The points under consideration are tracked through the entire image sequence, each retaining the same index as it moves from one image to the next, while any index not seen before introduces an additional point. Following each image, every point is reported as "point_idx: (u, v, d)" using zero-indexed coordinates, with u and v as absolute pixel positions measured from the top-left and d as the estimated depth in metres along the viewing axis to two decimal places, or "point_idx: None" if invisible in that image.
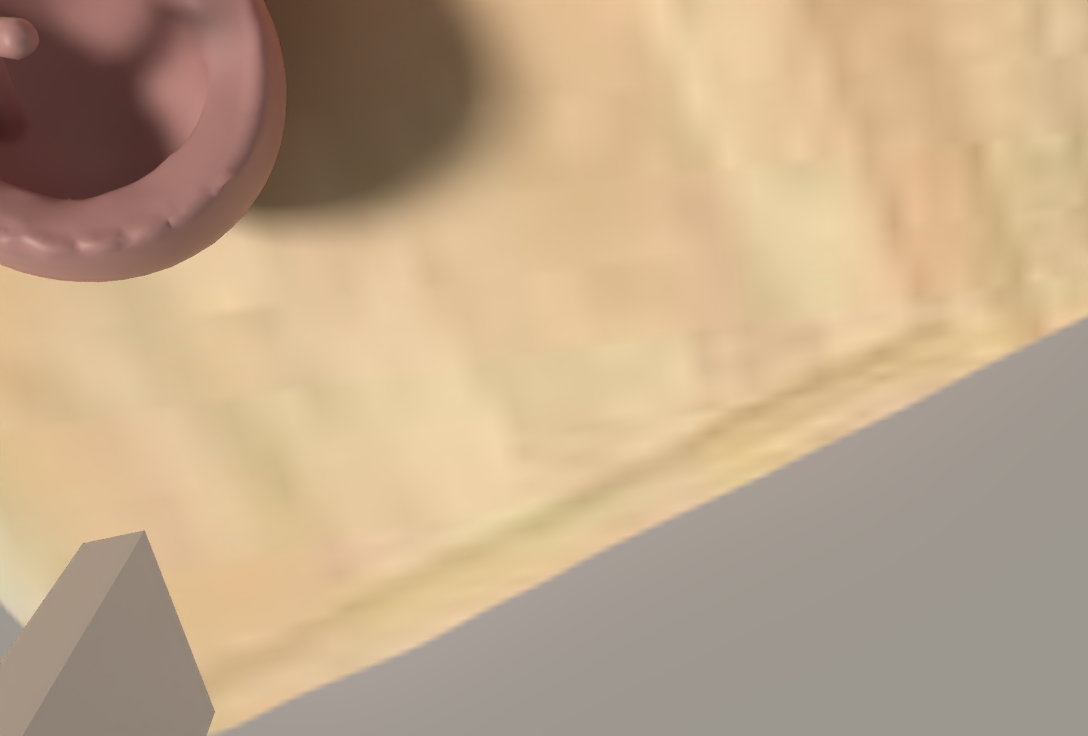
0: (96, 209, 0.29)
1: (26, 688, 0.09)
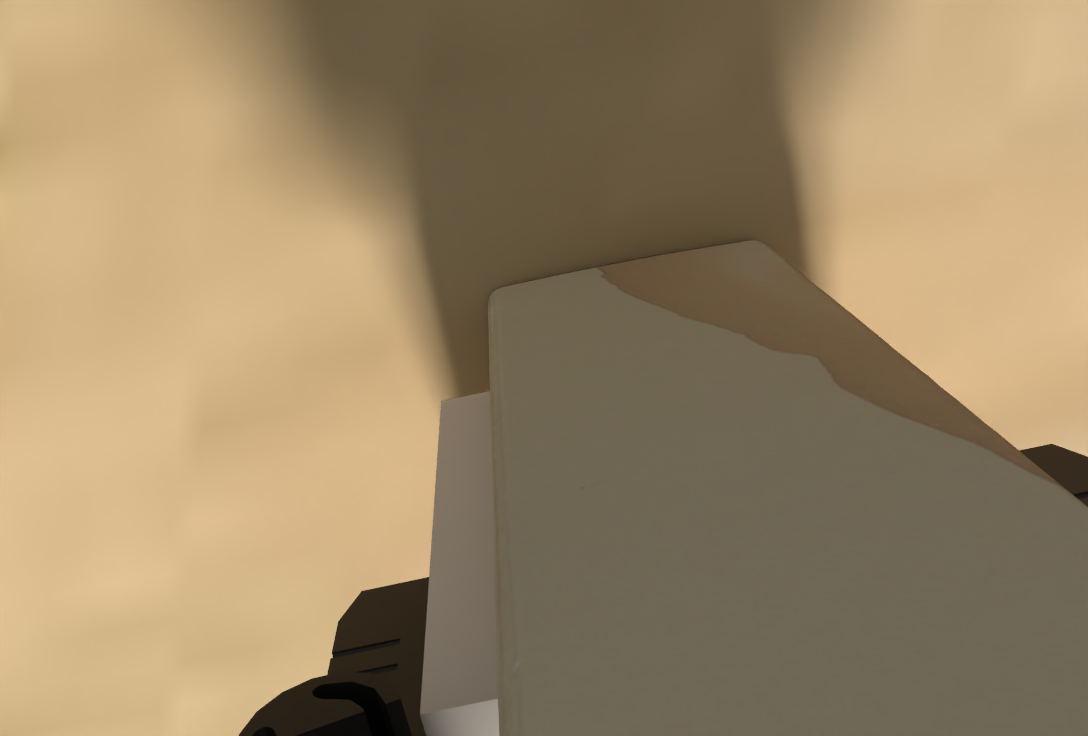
0: None
1: (477, 488, 0.11)
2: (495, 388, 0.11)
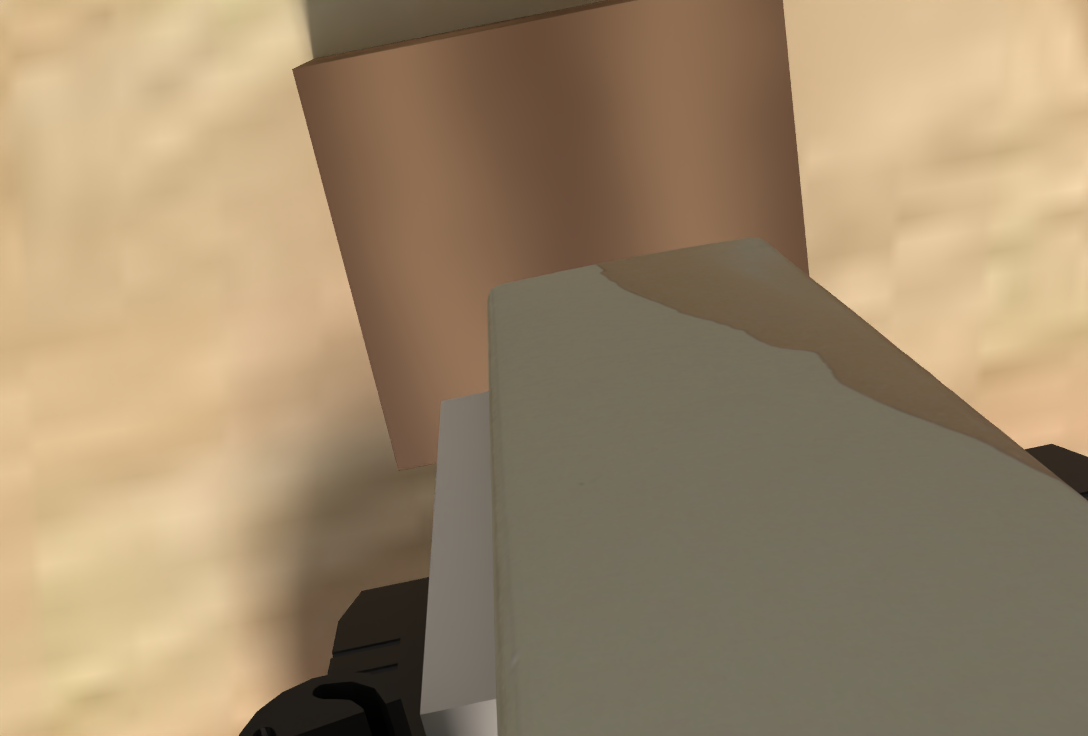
0: None
1: (477, 488, 0.11)
2: (494, 385, 0.11)
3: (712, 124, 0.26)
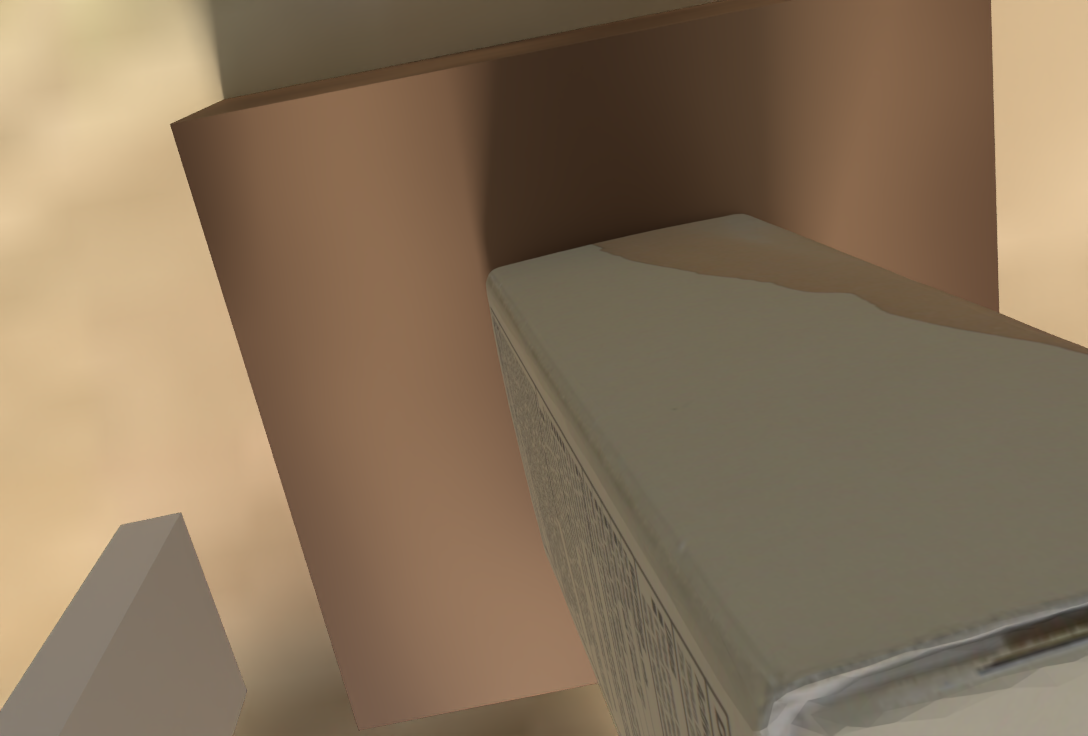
0: None
1: (76, 661, 0.10)
2: (535, 345, 0.11)
3: (863, 211, 0.16)
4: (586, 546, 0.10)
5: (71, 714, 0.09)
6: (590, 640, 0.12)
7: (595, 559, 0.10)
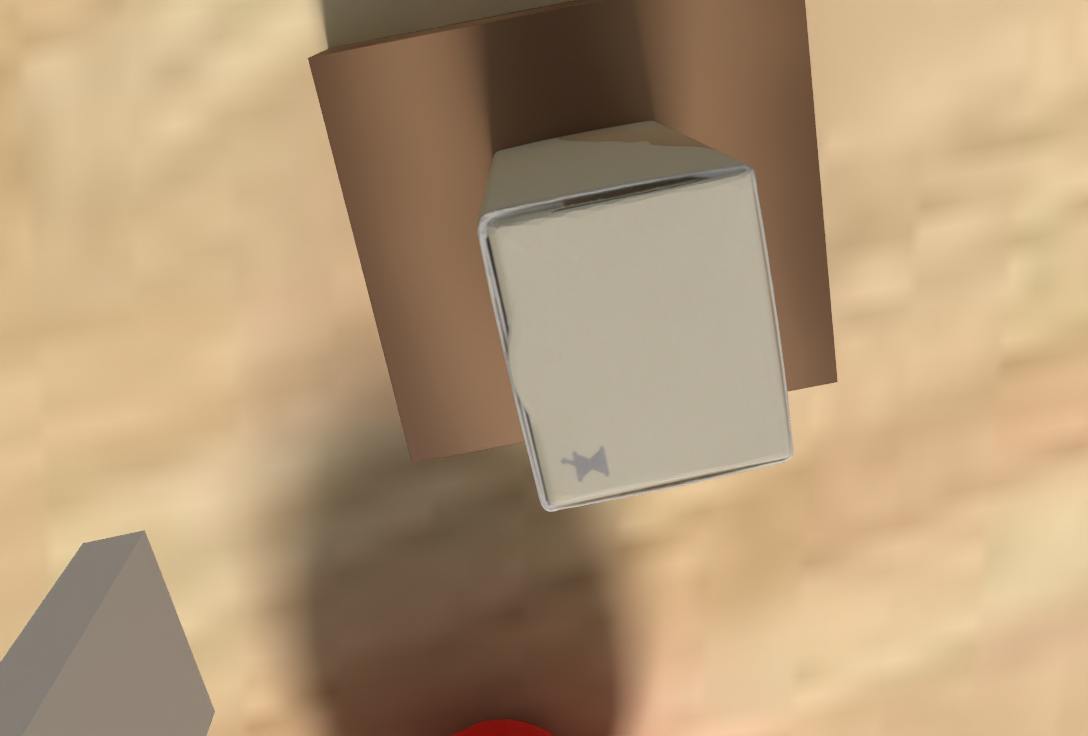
0: None
1: (26, 688, 0.09)
2: (491, 171, 0.22)
3: (731, 115, 0.26)
4: None
5: None
6: None
7: None
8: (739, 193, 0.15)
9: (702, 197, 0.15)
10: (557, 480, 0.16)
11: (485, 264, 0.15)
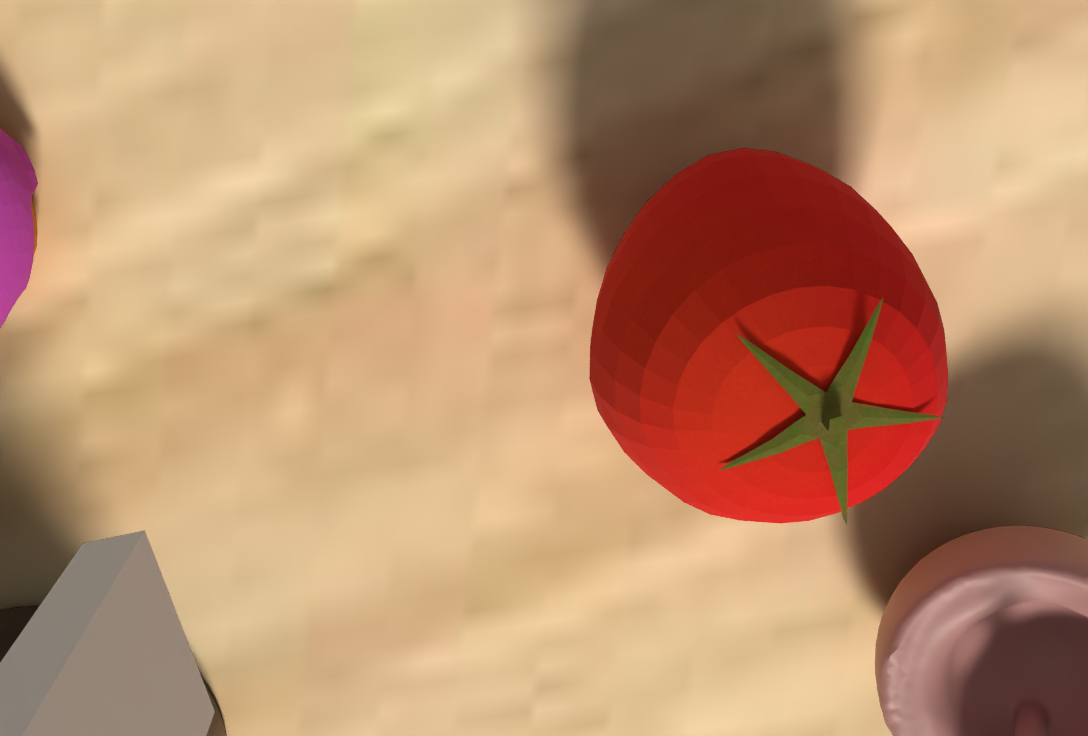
0: None
1: (26, 688, 0.09)
2: None
3: None
4: None
5: None
6: None
7: None
8: None
9: None
10: None
11: None
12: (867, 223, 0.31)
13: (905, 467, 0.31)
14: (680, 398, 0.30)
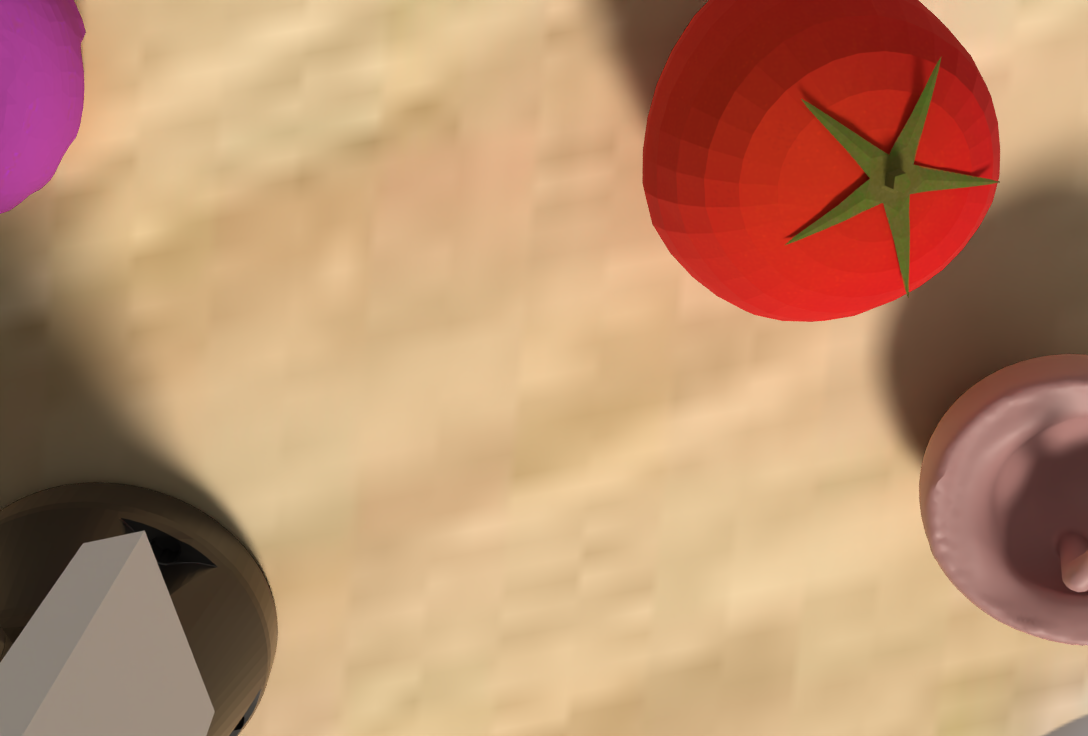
0: None
1: (26, 688, 0.09)
2: None
3: None
4: None
5: None
6: None
7: None
8: None
9: None
10: None
11: None
12: (916, 5, 0.32)
13: (962, 240, 0.32)
14: (746, 172, 0.31)
